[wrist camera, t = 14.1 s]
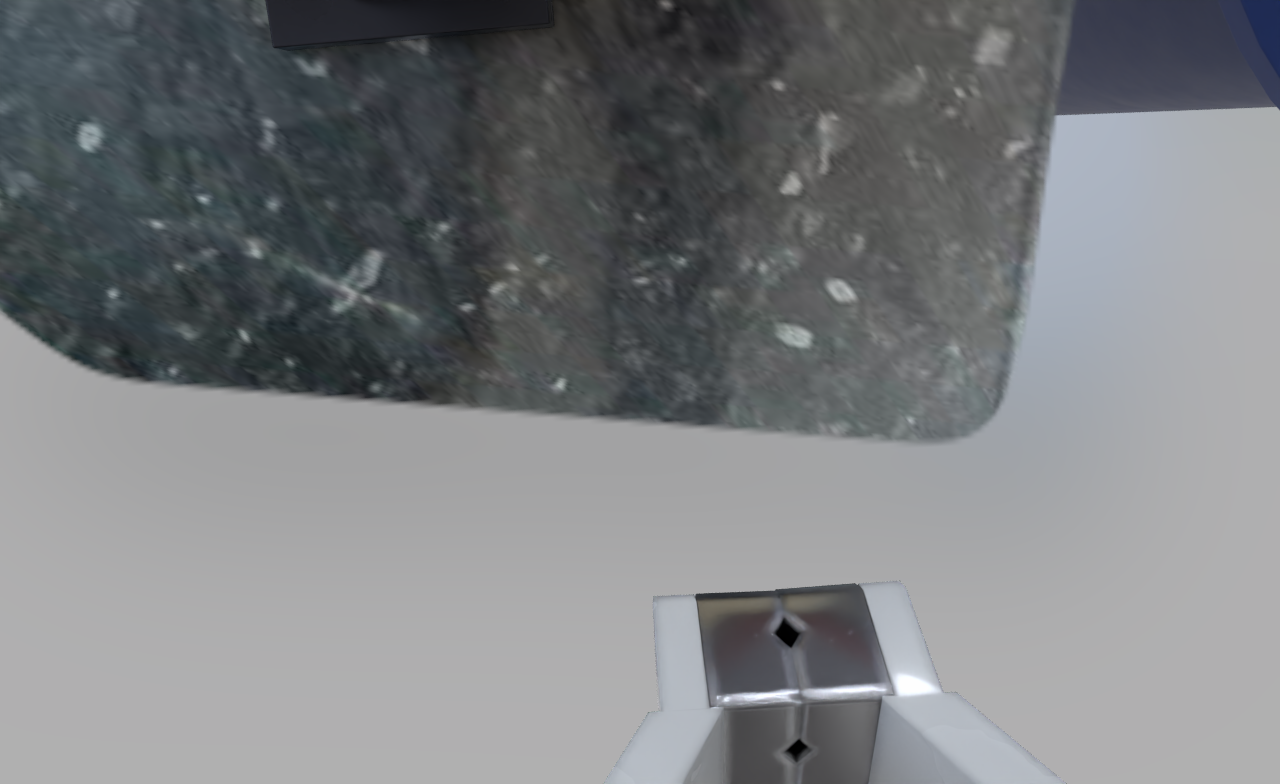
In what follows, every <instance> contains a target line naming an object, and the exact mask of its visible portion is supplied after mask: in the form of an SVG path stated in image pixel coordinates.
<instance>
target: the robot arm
mask: <svg viewBox="0 0 1280 784" xmlns="http://www.w3.org/2000/svg"><path fill="white" fill-rule="evenodd" d="M653 619H654V637H655V657H656V675H657V695H658V709H659V711H657V712H648V714H647V715H646V717H645V719H644V720H643V722H642V723H641V725H640V726H639V728H638V730H637V731H636V733H635V734H634V736H633V738H632V739H631V741H630V742H629V744H628V746H627V747H626V749H625V750H624V752H623V753H622V755H621V757H620V758H619V760H618V761H617V763H616V765H615V766H614V768H613V769H612V771H611V772H610V774H609V776H608V777H607V779H606V781H605V782H604V784H1067V783H1065V782H1064V781H1063V780H1062V779H1060V778H1059V777H1058V776H1057V775H1056V774H1055V773H1053V772H1052V771H1051V770H1050V769H1048V768H1047V767H1046V766H1045V765H1044V764H1042V763H1041V762H1040V761H1039V760H1038V759H1036V758H1035V757H1034V756H1033V755H1032V754H1030V753H1029V752H1028V751H1027V750H1026V749H1024V748H1023V747H1022V746H1021V745H1019V744H1018V743H1017V742H1016V741H1015V740H1014V739H1012V738H1011V737H1010V736H1009V735H1008V734H1006V733H1005V732H1004V731H1003V730H1001V729H1000V728H999V727H998V726H997V725H995V724H994V723H993V722H992V721H991V720H990V719H988V718H987V717H986V716H984V715H983V714H982V713H981V712H980V711H979V710H977V709H976V708H975V707H974V706H973V705H971V704H970V703H969V702H968V701H967V700H965V699H964V698H963V697H962V696H961V695H959V694H958V693H957V692H943V689H942V686H941V684H940V681H939V678H938V675H937V673H936V670H935V667H934V664H933V661H932V658H931V656H930V653H929V650H928V647H927V645H926V642H925V639H924V637H923V634H922V631H921V628H920V625H919V623H918V620H917V617H916V614H915V611H914V609H913V606H912V603H911V600H910V598H909V595H908V592H907V590H906V587H905V586H904V585H903V584H902V583H901V582H900V581H890V582H876V583H861V584H858V585H856V584H855V583H854V584H842V585H828V586H815V587H802V588H789V589H776V590H775V591H755V592H730V593H704V594H696V595H695V596H694V594H693V595H671V596H654V597H653Z"/></svg>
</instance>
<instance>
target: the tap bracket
mask: <svg viewBox="0 0 1280 784" xmlns="http://www.w3.org/2000/svg"><path fill="white" fill-rule="evenodd" d="M266 6H267V13H268V19H269V25H270V31H271V37H272V43H273V47H274V48H277V49H282V50H287V51H290V50H301V49H312V48H324V47H335V46H346V45H358V44H369V43H381V42H392V41H403V40H415V39H426V38H437V37H449V36H460V35H471V34H483V33H494V32H506V31H517V30H528V29H540V28H551V27H554V17H553V6H552V0H266Z"/></svg>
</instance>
